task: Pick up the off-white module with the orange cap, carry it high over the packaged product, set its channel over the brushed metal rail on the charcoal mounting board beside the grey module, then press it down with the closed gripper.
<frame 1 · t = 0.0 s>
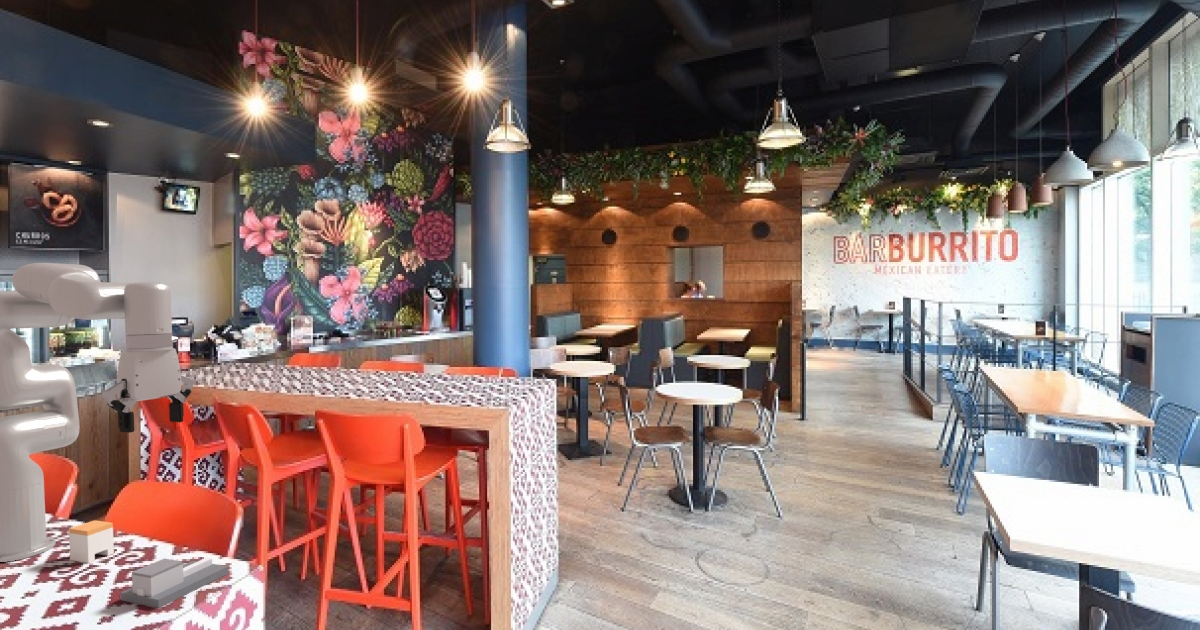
hand: (152, 426, 118), 31 cm above the table, tool pointing down, fingers open, 9 cm apart
rail board: (177, 586, 115), on the table
module: (92, 556, 129), on the table
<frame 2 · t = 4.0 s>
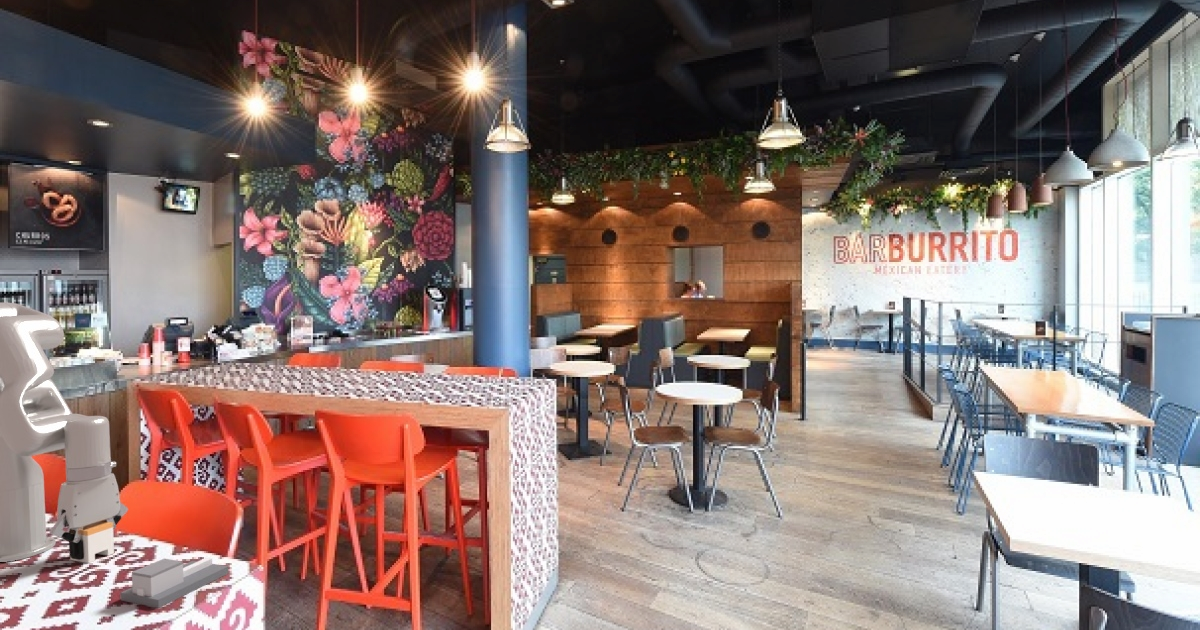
hand: (92, 552, 129), 1 cm above the table, tool pointing down, fingers closed on module, 5 cm apart
module: (92, 556, 129), on the table, touching gripper
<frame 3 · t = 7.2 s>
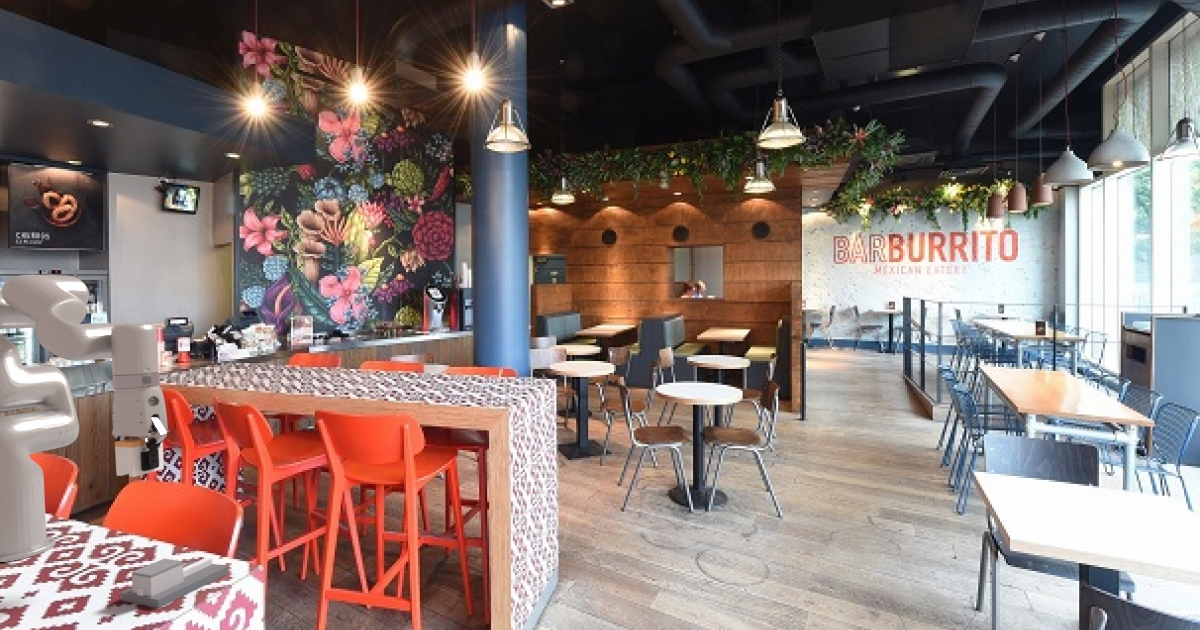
hand: (140, 467, 121), 22 cm above the table, tool pointing down, fingers closed on module, 5 cm apart
module: (140, 472, 121), point 21 cm above the table, touching gripper
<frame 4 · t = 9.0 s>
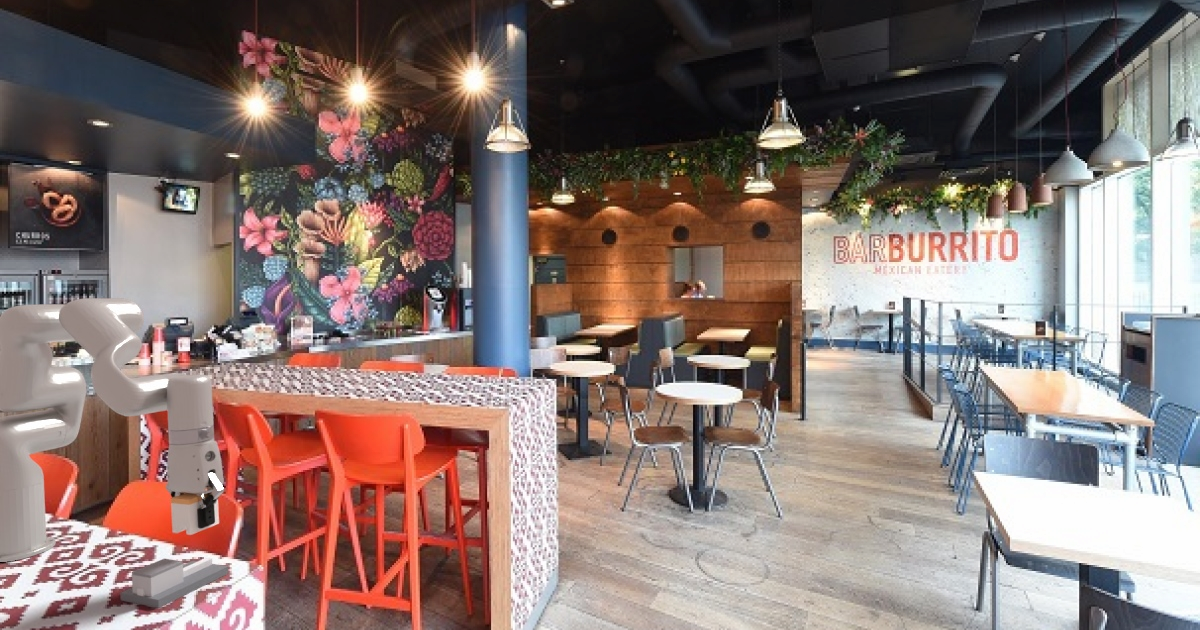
hand: (196, 523, 118), 11 cm above the table, tool pointing down, fingers closed on module, 5 cm apart
module: (196, 528, 118), point 10 cm above the table, touching gripper
when the fingers open (3 cm above the table, at t = 10.7 s): module stays where it is, resting on rail board.
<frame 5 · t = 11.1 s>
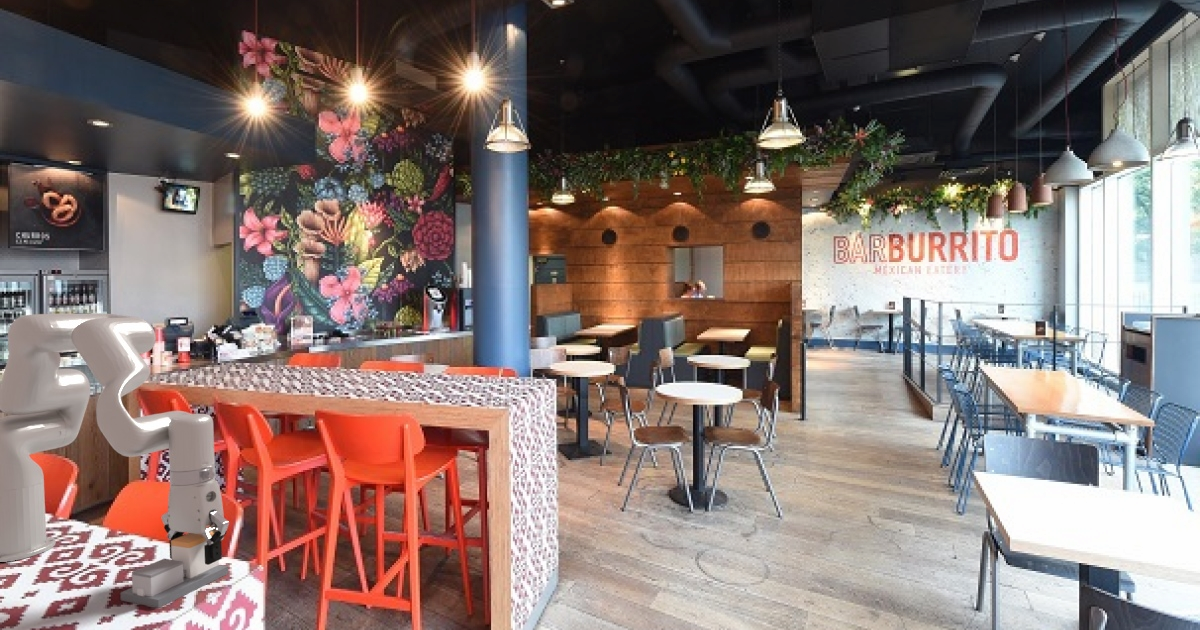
hand: (196, 558, 118), 4 cm above the table, tool pointing down, fingers open, 9 cm apart
module: (195, 569, 118), point 1 cm above the table, touching rail board
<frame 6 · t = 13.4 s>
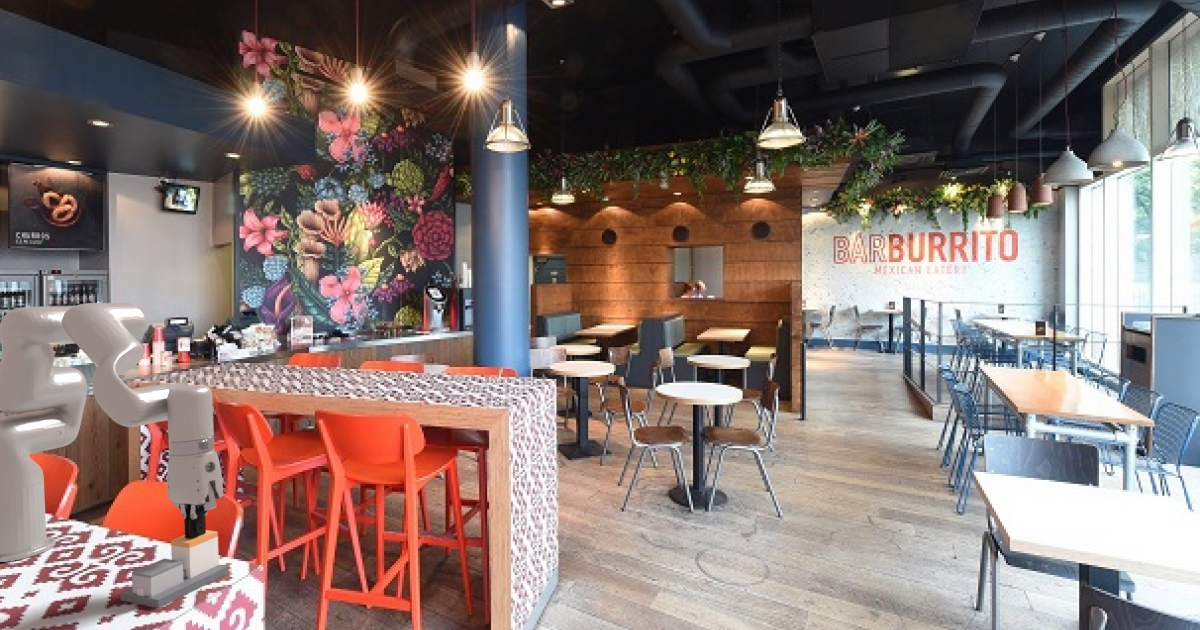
hand: (195, 535, 118), 9 cm above the table, tool pointing down, fingers closed
module: (195, 569, 118), point 2 cm above the table, touching gripper, rail board
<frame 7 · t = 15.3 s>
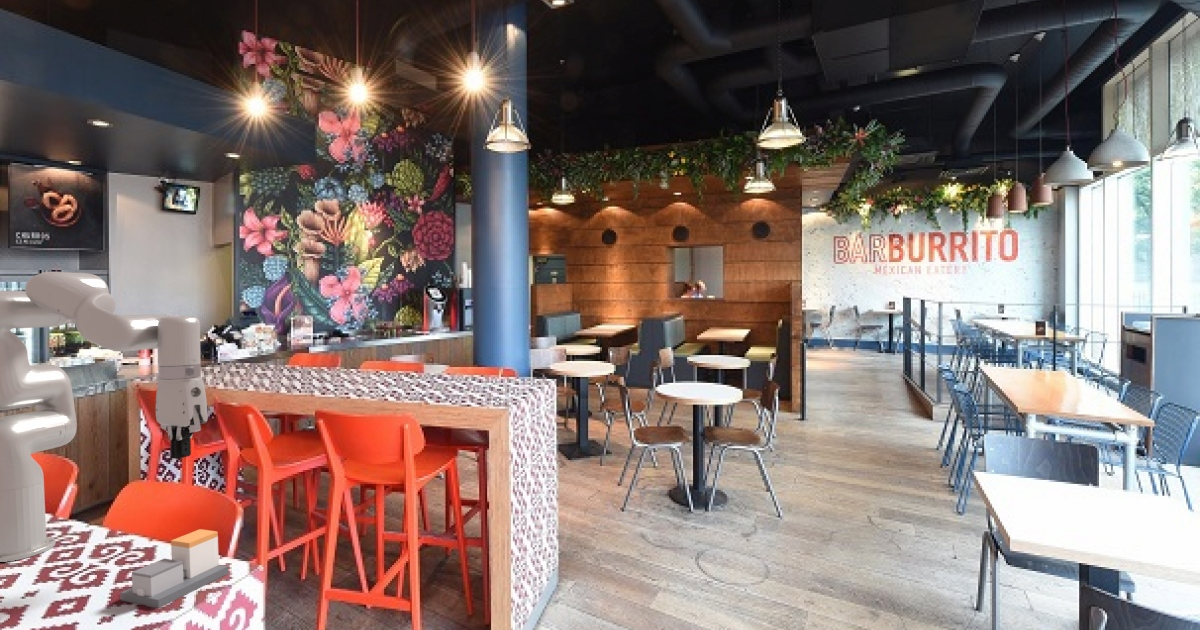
hand: (180, 456, 126), 23 cm above the table, tool pointing down, fingers closed
module: (195, 569, 118), point 1 cm above the table, touching rail board
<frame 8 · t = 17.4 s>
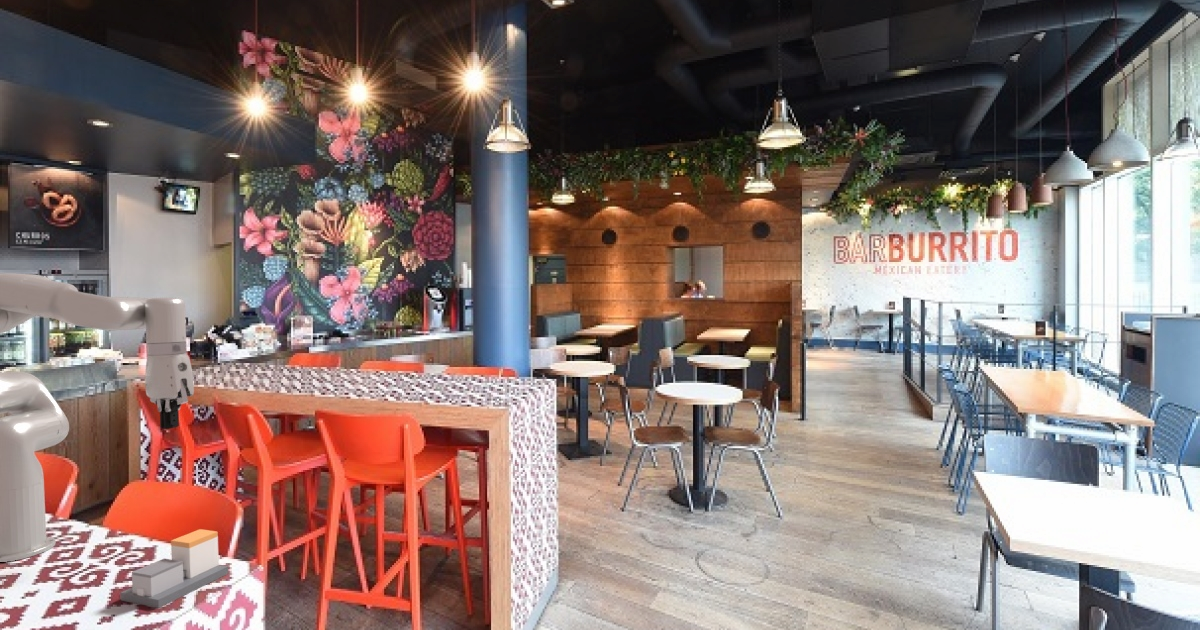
hand: (169, 427, 136), 27 cm above the table, tool pointing down, fingers closed
nothing on the table moved.
at the end: module 0.1 cm from the target spot on the rail board, point 1.5 cm above the rail board's base; module tilted 0°; the gripper is holding nothing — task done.
